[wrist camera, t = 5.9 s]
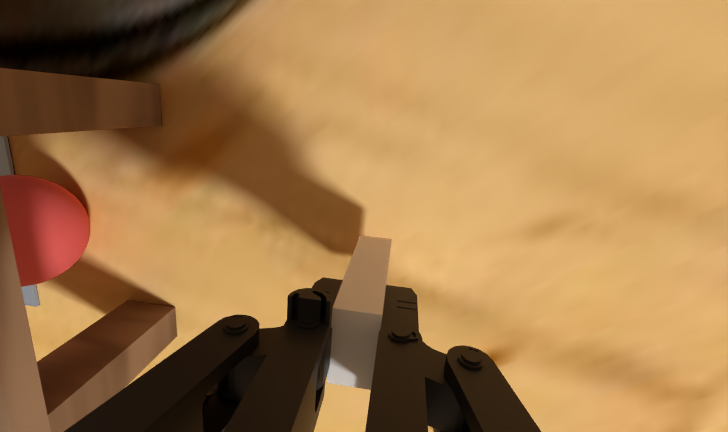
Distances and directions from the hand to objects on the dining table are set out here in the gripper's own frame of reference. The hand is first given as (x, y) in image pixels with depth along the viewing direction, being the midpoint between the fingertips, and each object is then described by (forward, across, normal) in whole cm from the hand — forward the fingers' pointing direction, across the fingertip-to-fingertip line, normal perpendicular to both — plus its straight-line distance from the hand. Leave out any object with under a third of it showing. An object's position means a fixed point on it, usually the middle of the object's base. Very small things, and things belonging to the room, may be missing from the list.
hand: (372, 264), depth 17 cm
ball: (-1, -18, 0) cm, 18 cm away
